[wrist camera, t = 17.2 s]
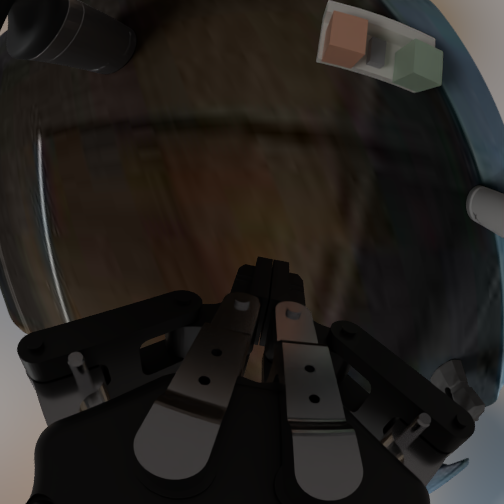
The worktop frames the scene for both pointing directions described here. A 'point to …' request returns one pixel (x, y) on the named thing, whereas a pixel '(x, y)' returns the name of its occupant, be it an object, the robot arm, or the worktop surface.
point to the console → (375, 41)
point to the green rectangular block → (418, 66)
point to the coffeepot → (458, 387)
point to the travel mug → (487, 208)
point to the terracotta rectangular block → (345, 40)
